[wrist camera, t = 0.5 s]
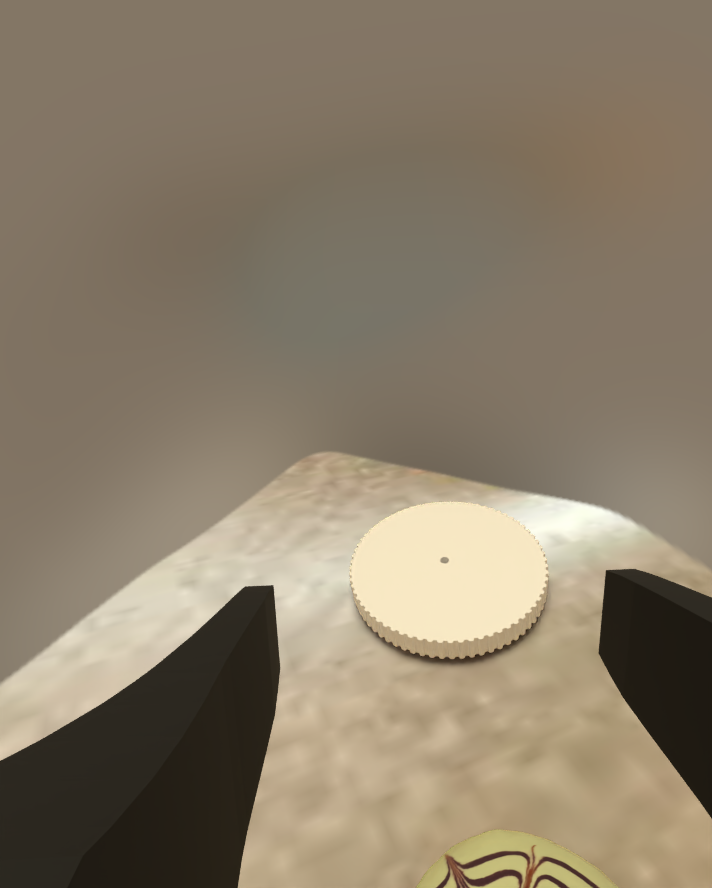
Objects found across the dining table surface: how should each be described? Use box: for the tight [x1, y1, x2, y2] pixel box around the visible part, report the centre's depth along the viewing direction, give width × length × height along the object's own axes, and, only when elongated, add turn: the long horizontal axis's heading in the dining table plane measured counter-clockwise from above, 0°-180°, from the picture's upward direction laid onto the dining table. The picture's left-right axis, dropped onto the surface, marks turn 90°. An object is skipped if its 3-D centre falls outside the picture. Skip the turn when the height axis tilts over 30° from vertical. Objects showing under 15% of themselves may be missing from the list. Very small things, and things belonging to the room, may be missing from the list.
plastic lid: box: [349, 501, 548, 659], centre depth 36 cm, size 14×14×2 cm
